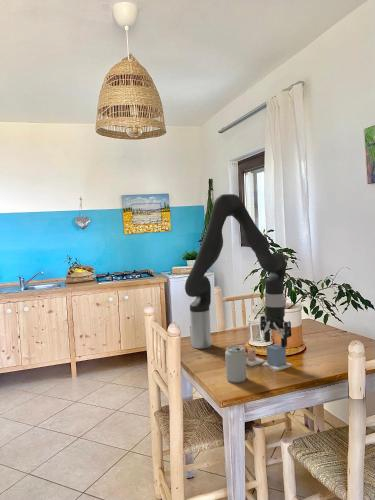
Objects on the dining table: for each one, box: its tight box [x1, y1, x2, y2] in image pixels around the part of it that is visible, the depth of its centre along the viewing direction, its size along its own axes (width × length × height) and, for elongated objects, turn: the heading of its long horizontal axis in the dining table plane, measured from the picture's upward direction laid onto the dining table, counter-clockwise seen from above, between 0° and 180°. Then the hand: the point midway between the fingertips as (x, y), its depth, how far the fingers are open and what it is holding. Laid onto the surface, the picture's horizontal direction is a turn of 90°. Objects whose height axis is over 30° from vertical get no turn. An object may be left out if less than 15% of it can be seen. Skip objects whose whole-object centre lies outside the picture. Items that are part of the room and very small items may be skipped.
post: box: [261, 361, 293, 372], centre depth 156 cm, size 8×8×7 cm
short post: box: [246, 348, 265, 367], centre depth 162 cm, size 7×7×5 cm
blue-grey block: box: [266, 343, 287, 367], centre depth 156 cm, size 5×5×7 cm
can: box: [224, 345, 248, 384], centre depth 144 cm, size 8×8×12 cm
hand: (275, 344), depth 156 cm, fingers open, 8 cm apart
